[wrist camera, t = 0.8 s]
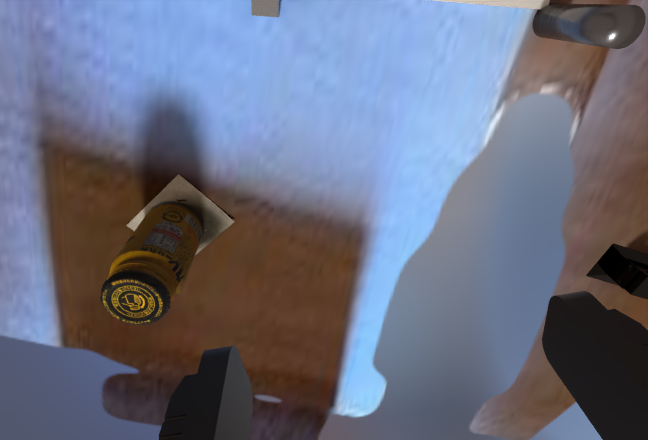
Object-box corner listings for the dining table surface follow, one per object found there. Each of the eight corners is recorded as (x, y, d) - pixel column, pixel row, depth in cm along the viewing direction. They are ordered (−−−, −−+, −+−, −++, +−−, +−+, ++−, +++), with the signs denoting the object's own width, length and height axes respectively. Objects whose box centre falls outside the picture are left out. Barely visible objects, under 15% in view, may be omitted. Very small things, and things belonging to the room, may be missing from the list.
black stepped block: (679, 255, 48) (713, 278, 44) (638, 298, 52) (666, 323, 48) (602, 229, 46) (631, 251, 42) (564, 276, 49) (587, 300, 45)
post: (538, 2, 33) (615, 3, 25) (567, 4, 33) (652, 6, 25) (528, 36, 34) (598, 47, 26) (556, 38, 34) (634, 50, 26)
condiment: (127, 224, 41) (69, 302, 30) (179, 173, 38) (135, 238, 28) (183, 265, 44) (148, 348, 33) (234, 220, 41) (214, 294, 31)
